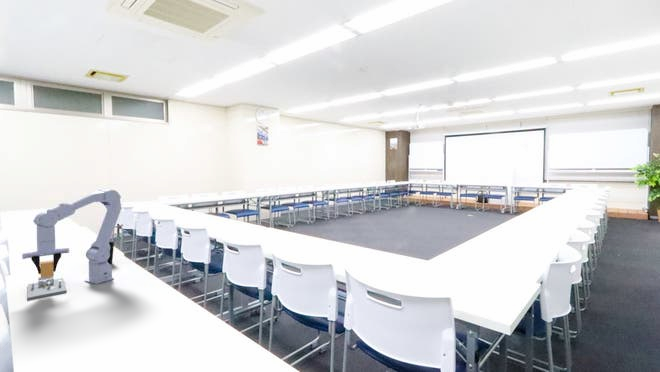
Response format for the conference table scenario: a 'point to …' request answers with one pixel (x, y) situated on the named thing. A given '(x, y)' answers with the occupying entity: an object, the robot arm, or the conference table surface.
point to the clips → (45, 284)
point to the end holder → (47, 279)
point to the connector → (47, 268)
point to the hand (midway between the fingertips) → (47, 272)
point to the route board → (46, 289)
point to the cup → (111, 252)
